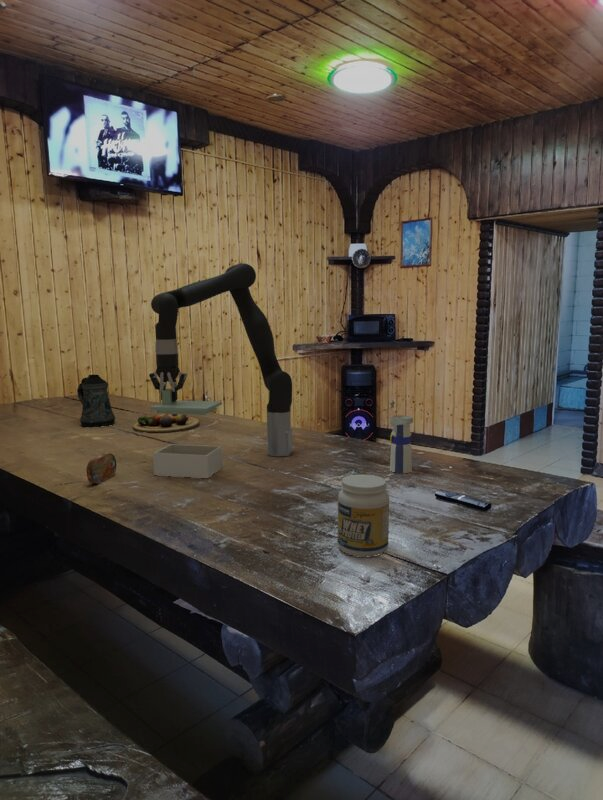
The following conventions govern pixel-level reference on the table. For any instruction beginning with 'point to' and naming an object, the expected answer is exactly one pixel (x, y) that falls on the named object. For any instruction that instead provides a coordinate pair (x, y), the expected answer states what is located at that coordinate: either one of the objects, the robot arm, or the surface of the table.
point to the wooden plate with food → (165, 423)
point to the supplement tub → (363, 515)
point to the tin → (101, 468)
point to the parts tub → (188, 461)
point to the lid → (183, 405)
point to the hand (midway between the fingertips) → (169, 401)
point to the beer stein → (95, 402)
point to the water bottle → (400, 443)
